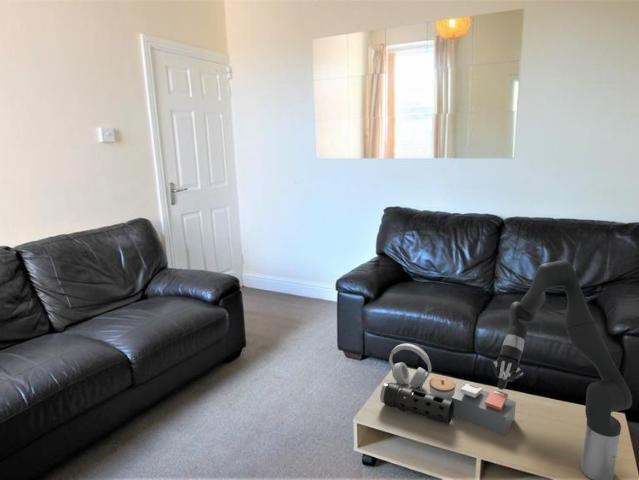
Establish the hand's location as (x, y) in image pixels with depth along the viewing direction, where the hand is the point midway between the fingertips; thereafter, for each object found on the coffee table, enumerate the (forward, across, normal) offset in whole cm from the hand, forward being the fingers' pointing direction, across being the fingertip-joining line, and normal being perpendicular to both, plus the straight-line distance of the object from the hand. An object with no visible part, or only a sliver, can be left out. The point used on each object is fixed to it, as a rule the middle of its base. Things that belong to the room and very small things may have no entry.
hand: (500, 388), depth 171 cm
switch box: (+12, -5, +6) cm, 14 cm away
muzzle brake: (+22, -27, -3) cm, 35 cm away
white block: (+5, -10, 0) cm, 11 cm away
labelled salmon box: (+5, 0, 0) cm, 5 cm away
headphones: (+10, -39, +9) cm, 41 cm away
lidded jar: (+10, -23, +8) cm, 26 cm away
